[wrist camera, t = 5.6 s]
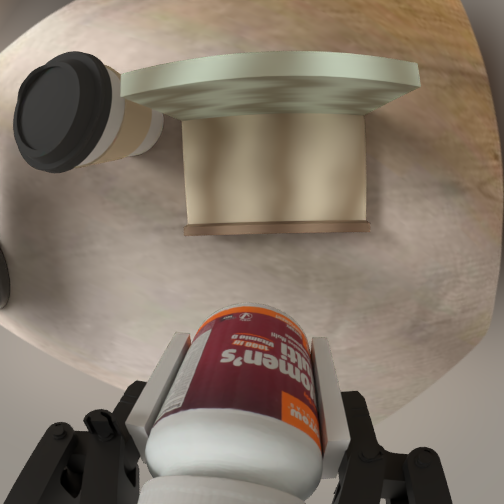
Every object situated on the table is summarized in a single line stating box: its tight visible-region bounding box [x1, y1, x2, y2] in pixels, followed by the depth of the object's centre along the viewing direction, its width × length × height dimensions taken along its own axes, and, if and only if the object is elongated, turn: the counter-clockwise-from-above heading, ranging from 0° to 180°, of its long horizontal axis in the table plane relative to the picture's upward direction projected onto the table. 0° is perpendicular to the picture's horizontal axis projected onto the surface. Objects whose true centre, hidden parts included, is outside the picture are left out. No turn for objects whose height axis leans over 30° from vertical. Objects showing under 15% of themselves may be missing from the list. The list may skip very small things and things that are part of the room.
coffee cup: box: [13, 51, 164, 173], centre depth 21 cm, size 9×9×15 cm
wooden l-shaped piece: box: [120, 51, 421, 236], centre depth 21 cm, size 17×12×14 cm
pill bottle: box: [137, 303, 323, 504], centre depth 10 cm, size 6×6×11 cm
